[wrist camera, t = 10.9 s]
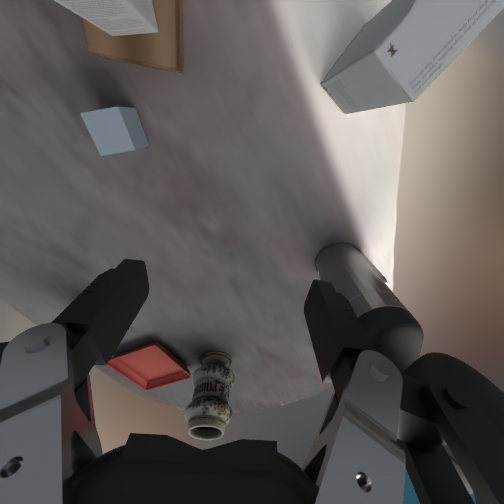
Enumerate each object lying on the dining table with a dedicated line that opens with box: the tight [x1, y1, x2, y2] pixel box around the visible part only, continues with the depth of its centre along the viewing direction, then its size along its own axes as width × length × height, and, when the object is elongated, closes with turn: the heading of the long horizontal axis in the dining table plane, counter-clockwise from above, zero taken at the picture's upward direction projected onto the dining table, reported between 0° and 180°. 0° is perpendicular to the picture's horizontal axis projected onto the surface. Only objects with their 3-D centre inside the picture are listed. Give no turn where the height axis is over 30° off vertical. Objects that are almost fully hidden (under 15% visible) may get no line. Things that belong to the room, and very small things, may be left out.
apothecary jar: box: [185, 351, 234, 440], centre depth 57 cm, size 12×12×18 cm
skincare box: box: [321, 0, 504, 114], centre depth 22 cm, size 8×6×15 cm
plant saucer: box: [107, 342, 192, 390], centre depth 63 cm, size 18×18×3 cm
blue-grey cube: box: [80, 106, 149, 156], centre depth 30 cm, size 5×5×5 cm
